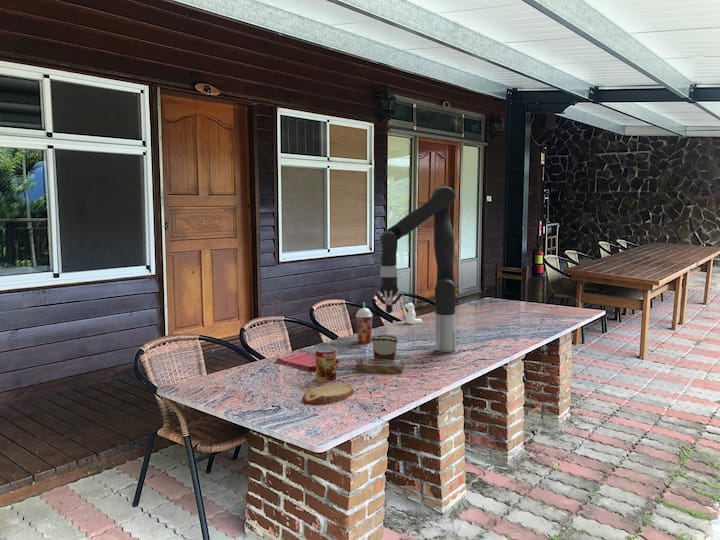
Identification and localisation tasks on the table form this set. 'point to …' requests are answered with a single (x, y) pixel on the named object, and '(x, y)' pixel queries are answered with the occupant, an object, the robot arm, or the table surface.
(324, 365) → the canned food
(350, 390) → the bread slice
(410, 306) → the white creature statuette
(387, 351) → the food container
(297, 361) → the dish towel
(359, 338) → the smoothie
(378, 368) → the walnut dock
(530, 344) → the table surface
